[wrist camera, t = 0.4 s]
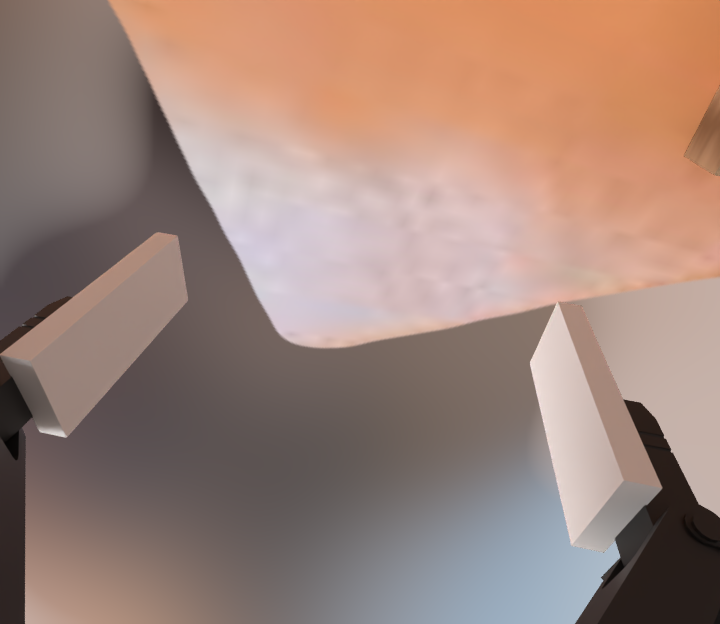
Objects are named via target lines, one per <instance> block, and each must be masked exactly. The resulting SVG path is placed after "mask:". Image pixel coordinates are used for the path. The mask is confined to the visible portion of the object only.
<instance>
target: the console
mask: <svg viewBox="0 0 720 624" xmlns="http://www.w3.org/2000/svg"><path fill="white" fill-rule="evenodd" d="M684 157H686V158H688V159H689V160H691V161H692V162H694V163H695V164H697V165H699V166H700V167H702V168H703V169H705V170H707V171H708V172H710V173H711V174H713V175H716V176H720V86H719V88H718V90H717V92H716V94H715V96H714V98H713V100H712V102H711V104H710V106H709V108H708V110H707V111H706V113H705V115H704V117H703V119H702V121H701V123H700V125H699V127H698V129H697V131H696V133H695V135H694V137H693V139H692V141H691V143H690V145H689V146H688V148H687V150H686V152H685V154H684Z"/></svg>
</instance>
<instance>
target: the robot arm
mask: <svg viewBox="0 0 720 624" xmlns="http://www.w3.org/2000/svg"><path fill="white" fill-rule="evenodd" d="M187 301H188V297H187V291H186V284H185V279H184V272H183V266H182V260H181V254H180V248H179V242H178V236H176V235H170V234H164V233H158V232H157V233H155V234H154V235H153V236H151V237H150V238H149V239H148V240H146V241H145V242H144V243H142V244H141V245H140V246H139V247H138V248H136V249H135V250H134V251H132V252H131V253H130V254H128V255H127V256H126V257H124V258H123V259H122V260H121V261H119V262H118V263H117V264H115V265H114V266H113V267H112V268H110V269H109V270H108V271H107V272H105V273H104V274H103V275H101V276H100V277H99V278H97V279H96V280H95V281H94V282H92V283H91V284H90V285H88V286H87V287H86V288H85V289H83V290H82V291H81V292H79V293H78V294H77V295H76V296H74V297H65V298H63V299H60V300H58V301H56V302H53V303H51V304H49V305H47V306H46V307H45V308H43V309H42V310H41V311H39V312H38V313H37V314H35V315H34V318H30V319H29V320H27V321H26V322H25V323H23V324H22V327H18V328H17V329H15V330H14V331H12V332H11V333H10V334H8V335H7V336H6V337H4V338H3V339H2V340H0V624H25V458H26V457H25V456H26V453H25V452H26V451H25V450H26V440H25V439H26V436H25V433H24V431H23V429H22V427H23V426H24V425H25V424H26V423H27V421H29V419H30V418H33V420H34V422H35V424H36V426H37V427H38V429H39V431H40V432H43V433H47V434H52V435H57V436H62V437H66V438H67V436H68V435H69V434H70V433H71V432H72V431H73V430H74V429H75V428H76V426H77V425H78V424H79V423H80V422H81V421H82V420H83V418H84V417H85V416H86V415H87V414H88V413H89V412H90V411H91V409H92V408H93V407H94V406H95V405H96V404H97V403H98V402H99V400H100V399H101V398H102V397H103V396H104V395H105V394H106V392H107V391H108V390H109V389H110V388H111V387H112V386H113V384H114V383H115V382H116V381H117V380H118V379H119V378H120V377H121V375H122V374H123V373H124V372H125V371H126V370H127V369H128V368H129V366H130V365H131V364H132V363H133V362H134V361H135V360H136V359H137V357H138V356H139V355H140V354H141V353H142V351H143V350H144V349H145V348H146V347H147V346H148V345H149V344H150V343H151V342H152V340H153V339H154V338H155V337H156V336H157V335H158V334H159V333H160V331H161V330H162V329H163V328H164V327H165V326H166V325H167V323H168V322H169V321H170V320H171V319H172V318H173V317H174V316H175V314H176V313H177V312H178V311H179V310H180V309H181V308H182V306H183V305H184V304H185V303H186V302H187ZM530 366H531V370H532V375H533V379H534V383H535V388H536V392H537V397H538V401H539V405H540V410H541V414H542V418H543V423H544V427H545V432H546V436H547V440H548V445H549V449H550V454H551V458H552V462H553V467H554V471H555V475H556V480H557V484H558V489H559V493H560V497H561V502H562V506H563V511H564V515H565V519H566V524H567V528H568V533H569V537H570V541H571V545H572V546H575V547H580V548H584V549H589V550H594V551H598V552H603V553H604V552H605V551H606V550H607V549H608V548H609V546H610V545H611V544H612V543H613V542H614V541H616V544H617V547H618V550H619V553H620V559H619V560H618V561H617V562H616V563H615V564H614V565H613V566H612V567H611V568H610V569H609V570H608V571H607V572H606V573H605V574H604V575H603V576H602V577H601V578H602V579H603V580H604V581H603V582H602V584H601V585H600V587H599V588H598V590H597V591H596V593H595V594H594V596H593V597H592V599H591V600H590V602H589V603H588V605H587V606H586V608H585V610H584V611H583V613H582V614H581V616H580V617H579V619H578V620H577V622H576V623H575V624H720V518H719V517H718V516H717V515H716V514H714V513H713V512H712V511H710V510H708V509H706V508H704V507H703V506H701V505H699V504H698V502H697V500H696V498H695V496H694V494H693V492H692V490H691V488H690V486H689V484H688V482H687V480H686V478H685V476H684V474H683V472H682V470H681V468H680V466H679V464H678V462H677V460H676V458H675V456H674V454H673V453H671V448H670V446H669V445H668V442H667V440H666V439H664V434H663V432H662V430H661V428H660V426H659V424H658V422H657V420H656V419H655V417H654V416H652V414H651V413H650V412H649V411H648V410H647V409H646V408H645V407H644V406H643V405H642V404H641V403H639V402H634V401H628V400H623V398H622V396H621V393H620V391H619V389H618V387H617V384H616V382H615V380H614V378H613V375H612V373H611V371H610V369H609V366H608V364H607V362H606V360H605V358H604V355H603V353H602V351H601V348H600V346H599V344H598V342H597V339H596V337H595V335H594V333H593V330H592V328H591V326H590V324H589V321H588V319H587V317H586V315H585V312H584V310H583V308H582V306H581V305H575V304H569V303H563V302H557V304H556V307H555V309H554V311H553V313H552V315H551V318H550V320H549V322H548V324H547V327H546V329H545V331H544V333H543V335H542V338H541V340H540V342H539V344H538V347H537V349H536V351H535V353H534V355H533V358H532V360H531V362H530Z"/></svg>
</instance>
